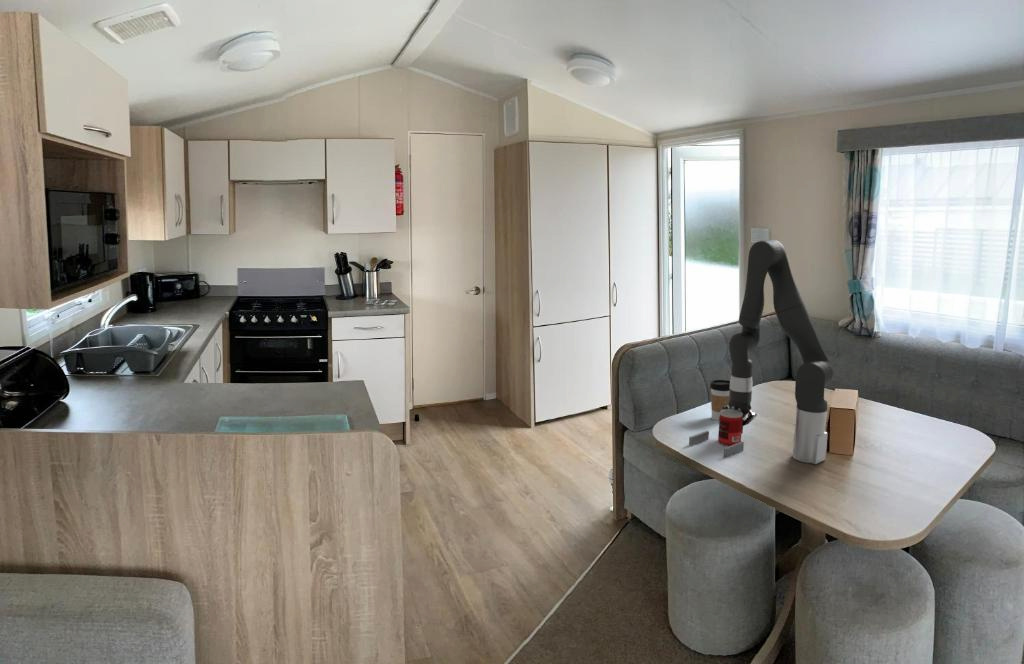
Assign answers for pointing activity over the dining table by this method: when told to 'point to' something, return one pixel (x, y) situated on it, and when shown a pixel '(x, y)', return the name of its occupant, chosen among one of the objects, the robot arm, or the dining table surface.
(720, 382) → the coffee cup
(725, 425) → the canned food
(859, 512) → the dining table surface
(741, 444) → the lane rails
